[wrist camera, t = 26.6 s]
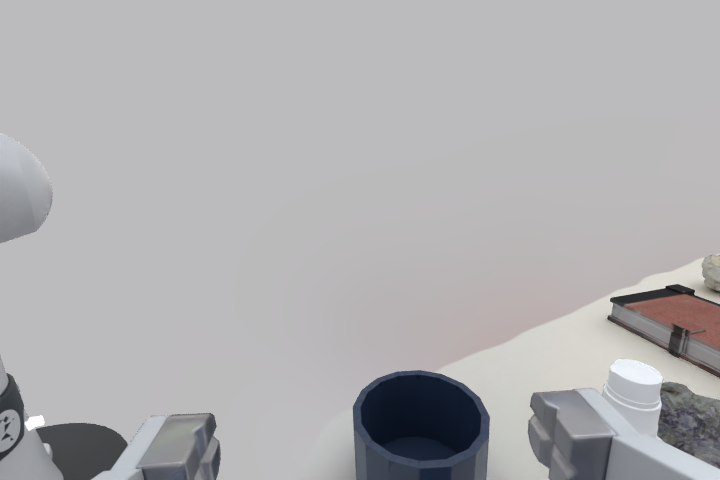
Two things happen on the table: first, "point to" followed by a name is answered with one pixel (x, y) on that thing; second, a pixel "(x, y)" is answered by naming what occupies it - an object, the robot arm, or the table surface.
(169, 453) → the robot arm
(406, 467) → the pot
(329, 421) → the table surface
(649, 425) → the spray bottle
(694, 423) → the mineral rock
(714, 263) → the white rock
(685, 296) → the book
